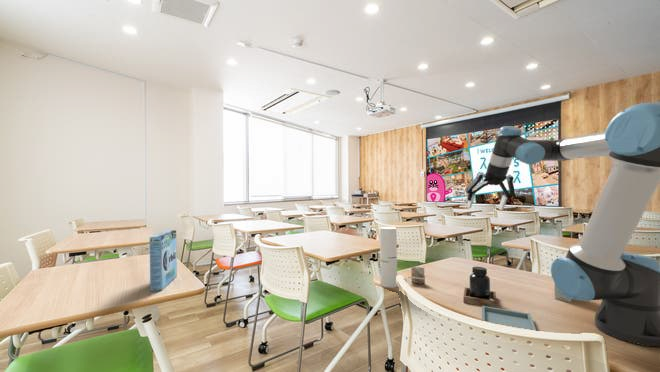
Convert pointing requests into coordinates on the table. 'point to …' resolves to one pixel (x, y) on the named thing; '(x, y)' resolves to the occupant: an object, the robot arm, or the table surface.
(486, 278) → the supplement bottle
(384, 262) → the cylindrical container
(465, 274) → the table surface
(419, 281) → the architectural model
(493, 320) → the tray
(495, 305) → the frame
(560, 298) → the ink box
